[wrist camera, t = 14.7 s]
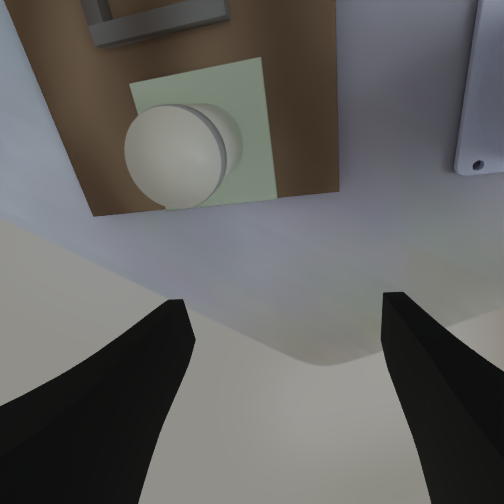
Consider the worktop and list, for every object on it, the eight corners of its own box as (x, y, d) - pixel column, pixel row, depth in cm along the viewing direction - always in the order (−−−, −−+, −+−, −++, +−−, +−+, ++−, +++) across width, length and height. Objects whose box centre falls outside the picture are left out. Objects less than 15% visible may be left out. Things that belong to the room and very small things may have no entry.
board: (323, -418, 9) (356, -1276, 3) (337, 186, 17) (353, 229, 12) (-67, -216, 12) (-382, -481, 7) (102, 211, 21) (26, 254, 15)
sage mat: (261, 57, 14) (260, 57, 14) (277, 197, 17) (277, 199, 17) (131, 84, 16) (128, 83, 15) (168, 208, 19) (166, 210, 18)
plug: (236, 95, 15) (208, 95, 11) (249, 176, 17) (230, 204, 12) (162, 109, 16) (108, 114, 11) (182, 185, 18) (141, 214, 13)
